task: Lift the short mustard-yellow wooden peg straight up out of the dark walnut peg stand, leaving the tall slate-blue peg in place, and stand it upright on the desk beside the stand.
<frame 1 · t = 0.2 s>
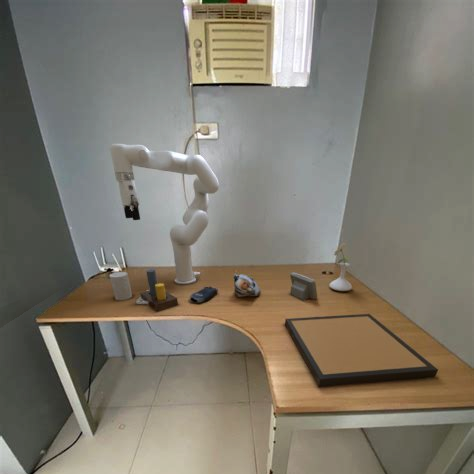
hand: (132, 219, 120), 37 cm above the table, tool pointing down, fingers open, 9 cm apart
electronic device: (203, 298, 128), on the table
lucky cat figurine: (246, 295, 131), on the table
blue peg: (155, 299, 127), resting in stand
cork board: (347, 347, 89), on the table
stand: (159, 302, 124), on the table
digital clock: (302, 295, 130), on the table
cup: (123, 297, 130), on the table
flower in vase: (338, 289, 136), on the table
mustard peg: (162, 304, 121), resting in stand
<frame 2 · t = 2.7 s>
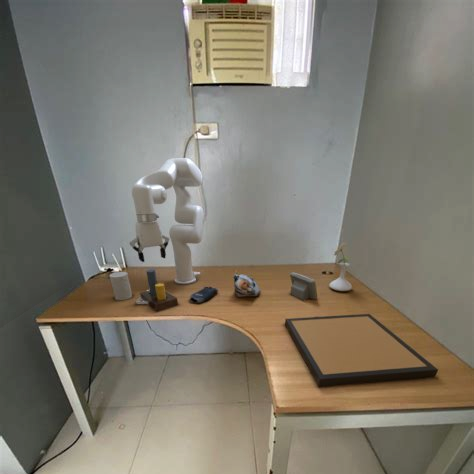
hand: (153, 259, 113), 21 cm above the table, tool pointing down, fingers open, 9 cm apart
nothing on the table moved.
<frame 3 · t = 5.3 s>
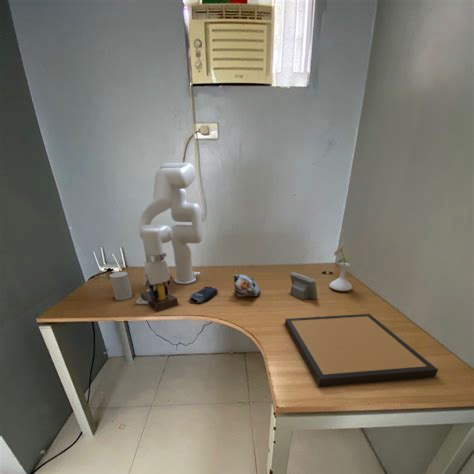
hand: (161, 295, 119), 5 cm above the table, tool pointing down, fingers closed on mustard peg, 4 cm apart
mustard peg: (162, 304, 121), resting in stand, touching gripper
everything else where it was.
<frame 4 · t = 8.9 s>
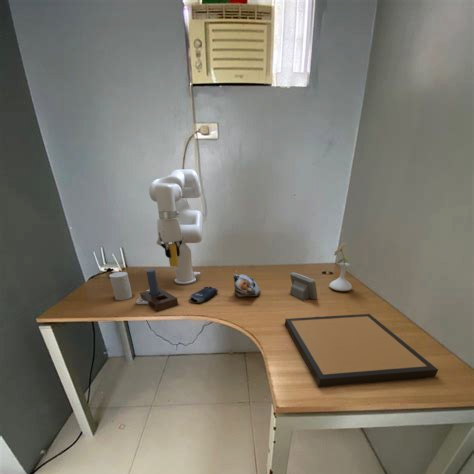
hand: (173, 256, 121), 21 cm above the table, tool pointing down, fingers closed on mustard peg, 4 cm apart
mustard peg: (174, 265, 123), point 16 cm above the table, touching gripper
everything else where it was.
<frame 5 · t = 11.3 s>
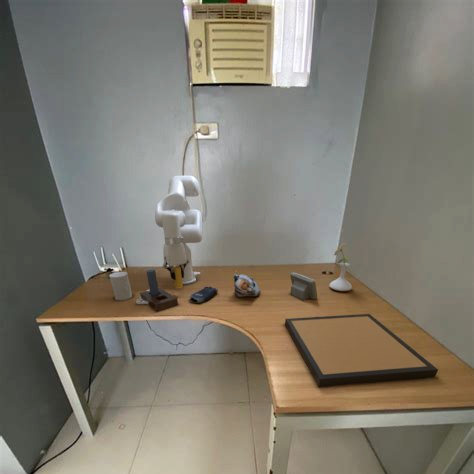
hand: (177, 278, 127), 9 cm above the table, tool pointing down, fingers closed on mustard peg, 3 cm apart
mustard peg: (178, 286, 129), point 5 cm above the table, touching gripper
everything else where it was.
when the fingers open (4 cm above the table, at t = 12.9 s): mustard peg stays where it is, on the table.
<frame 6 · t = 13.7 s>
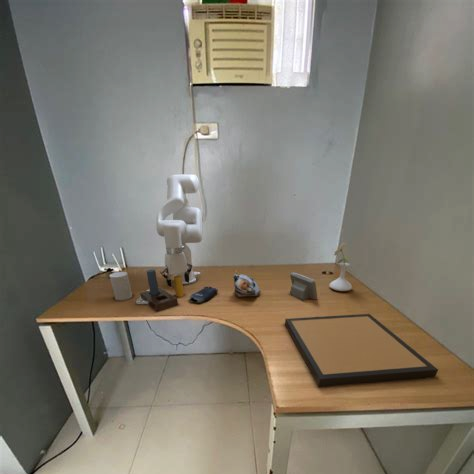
hand: (178, 284, 129), 6 cm above the table, tool pointing down, fingers open, 9 cm apart
mustard peg: (180, 295, 131), on the table
everything else where it was.
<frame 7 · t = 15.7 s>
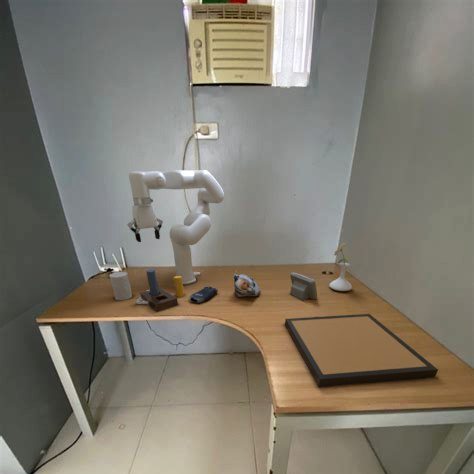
hand: (148, 240, 124), 27 cm above the table, tool pointing down, fingers open, 9 cm apart
nothing on the table moved.
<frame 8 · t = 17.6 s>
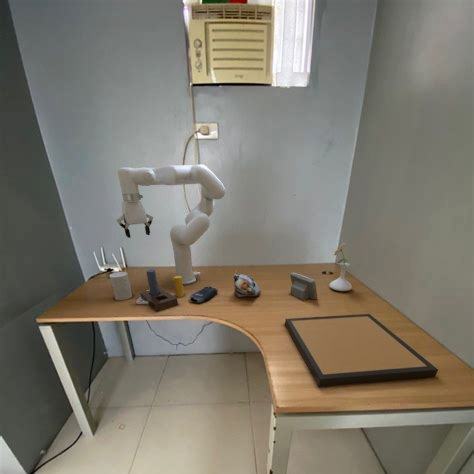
hand: (138, 236, 126), 28 cm above the table, tool pointing down, fingers open, 9 cm apart
nothing on the table moved.
at the end: mustard peg inside the target area (0.4 cm from its centre), on the table; mustard peg tilted 0°; blue peg moved 0.0 cm from its start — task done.
